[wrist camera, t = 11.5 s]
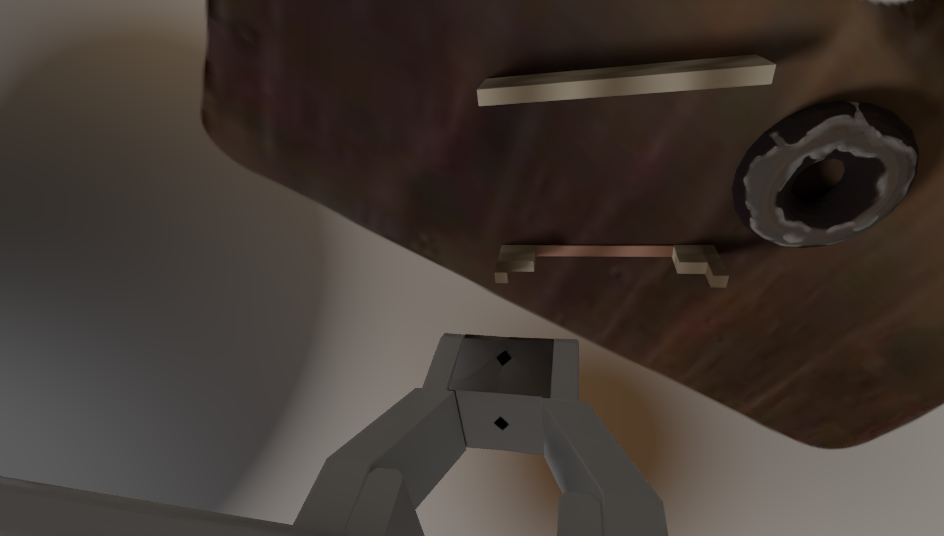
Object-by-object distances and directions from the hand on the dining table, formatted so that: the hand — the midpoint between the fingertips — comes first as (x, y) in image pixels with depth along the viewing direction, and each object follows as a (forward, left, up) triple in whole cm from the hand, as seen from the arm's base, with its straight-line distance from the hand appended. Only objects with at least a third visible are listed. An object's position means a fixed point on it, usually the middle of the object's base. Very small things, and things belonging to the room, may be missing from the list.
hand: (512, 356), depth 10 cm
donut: (-20, +9, -32) cm, 38 cm away
